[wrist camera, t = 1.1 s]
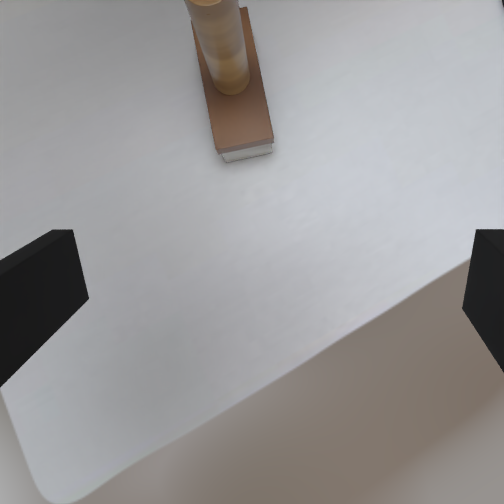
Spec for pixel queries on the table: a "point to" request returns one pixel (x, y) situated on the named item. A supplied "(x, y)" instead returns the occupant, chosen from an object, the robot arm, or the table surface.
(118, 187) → the table surface
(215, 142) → the brush
